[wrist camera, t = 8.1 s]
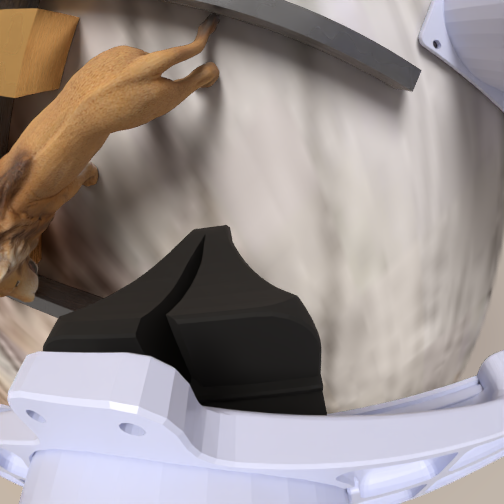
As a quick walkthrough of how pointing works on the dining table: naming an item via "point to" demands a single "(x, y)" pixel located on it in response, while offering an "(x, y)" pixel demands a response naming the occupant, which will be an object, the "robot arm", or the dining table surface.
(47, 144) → the lion figurine
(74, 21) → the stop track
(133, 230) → the dining table surface
